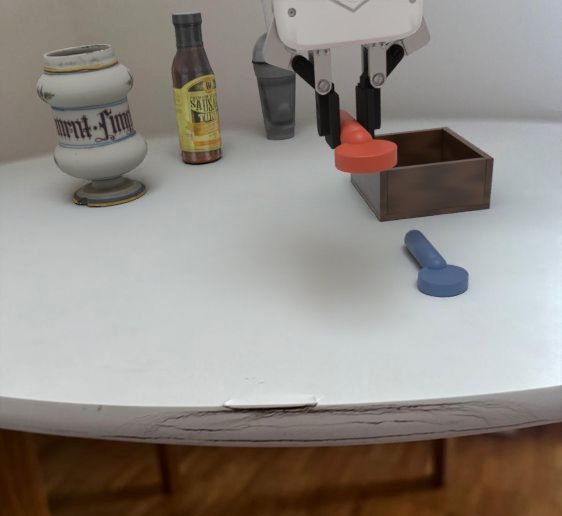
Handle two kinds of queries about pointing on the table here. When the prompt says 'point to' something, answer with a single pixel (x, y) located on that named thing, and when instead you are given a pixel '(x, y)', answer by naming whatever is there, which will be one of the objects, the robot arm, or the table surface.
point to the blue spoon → (435, 268)
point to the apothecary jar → (93, 122)
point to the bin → (428, 176)
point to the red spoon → (362, 149)
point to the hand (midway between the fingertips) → (349, 140)
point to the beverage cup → (275, 91)
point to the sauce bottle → (194, 92)
